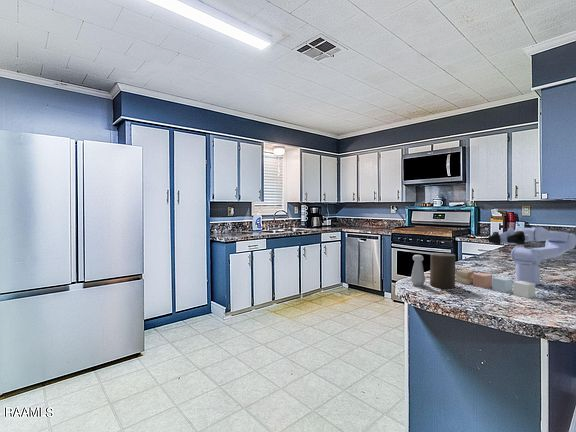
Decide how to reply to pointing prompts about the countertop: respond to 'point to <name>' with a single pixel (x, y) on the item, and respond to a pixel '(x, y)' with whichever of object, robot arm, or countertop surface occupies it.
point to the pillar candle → (442, 270)
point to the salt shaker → (418, 271)
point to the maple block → (464, 276)
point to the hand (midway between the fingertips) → (498, 239)
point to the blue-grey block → (502, 284)
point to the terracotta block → (482, 280)
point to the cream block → (524, 289)
